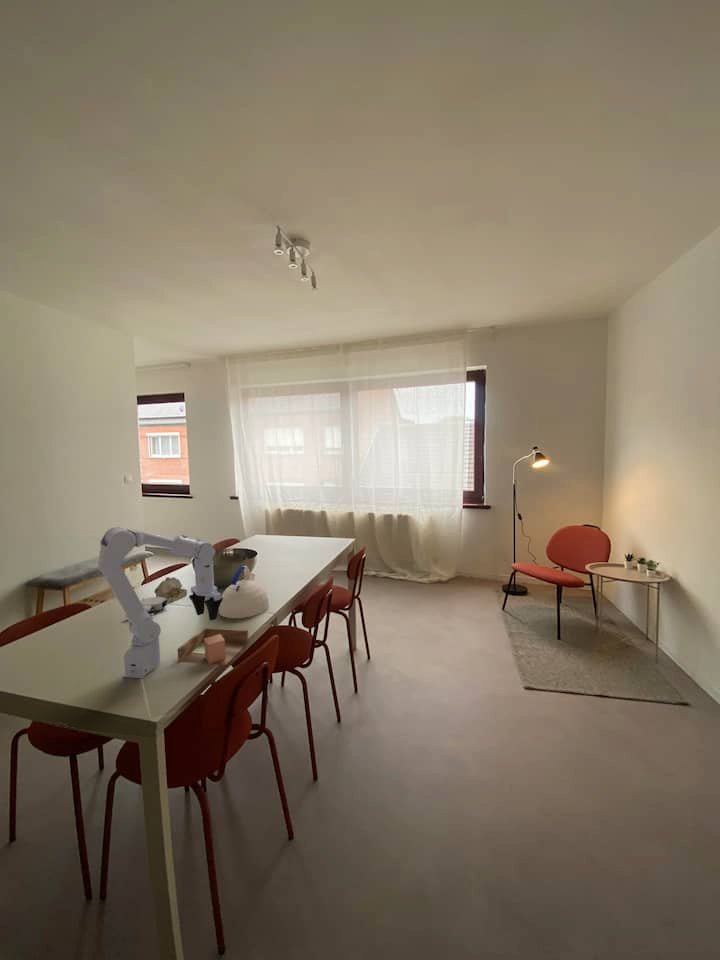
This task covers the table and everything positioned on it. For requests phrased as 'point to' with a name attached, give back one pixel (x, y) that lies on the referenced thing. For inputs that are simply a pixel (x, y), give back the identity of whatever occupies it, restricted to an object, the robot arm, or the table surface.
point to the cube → (214, 648)
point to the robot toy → (153, 604)
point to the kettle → (243, 597)
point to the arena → (196, 650)
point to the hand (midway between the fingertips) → (206, 616)
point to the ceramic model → (170, 589)
